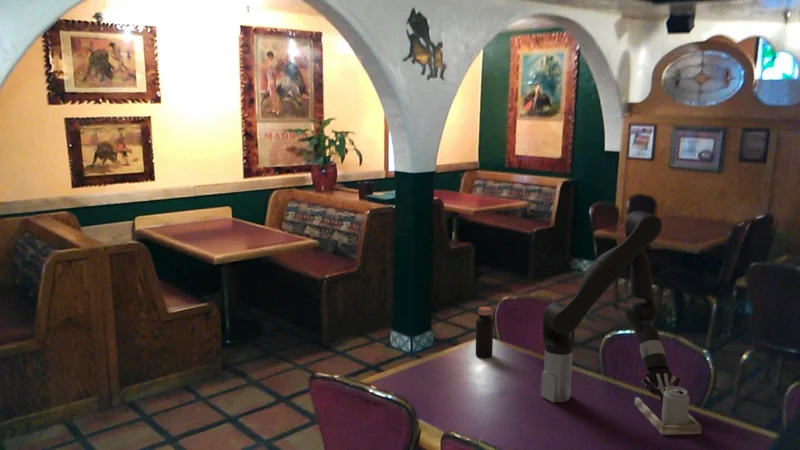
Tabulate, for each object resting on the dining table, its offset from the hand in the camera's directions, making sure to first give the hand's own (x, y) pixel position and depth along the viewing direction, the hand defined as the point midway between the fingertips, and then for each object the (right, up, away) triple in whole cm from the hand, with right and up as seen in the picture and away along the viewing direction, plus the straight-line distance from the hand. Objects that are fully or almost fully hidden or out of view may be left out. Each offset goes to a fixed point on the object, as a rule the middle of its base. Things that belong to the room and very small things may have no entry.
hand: (668, 407), depth 204 cm
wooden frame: (0, -4, +1) cm, 4 cm away
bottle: (-52, +6, +53) cm, 75 cm away
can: (0, -5, -3) cm, 6 cm away
